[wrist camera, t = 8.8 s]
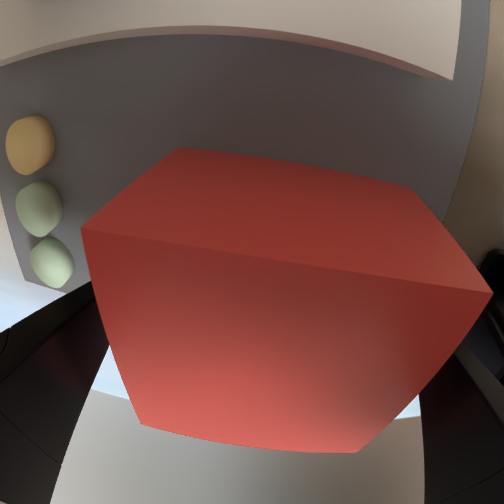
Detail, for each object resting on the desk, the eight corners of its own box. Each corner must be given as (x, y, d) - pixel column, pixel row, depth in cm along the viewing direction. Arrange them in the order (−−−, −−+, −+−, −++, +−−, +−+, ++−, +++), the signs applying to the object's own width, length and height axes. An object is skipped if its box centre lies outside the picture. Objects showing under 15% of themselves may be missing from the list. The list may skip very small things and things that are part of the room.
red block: (410, 187, 8) (493, 293, 4) (345, 344, 12) (356, 452, 8) (177, 147, 8) (80, 228, 4) (179, 319, 12) (141, 423, 8)
